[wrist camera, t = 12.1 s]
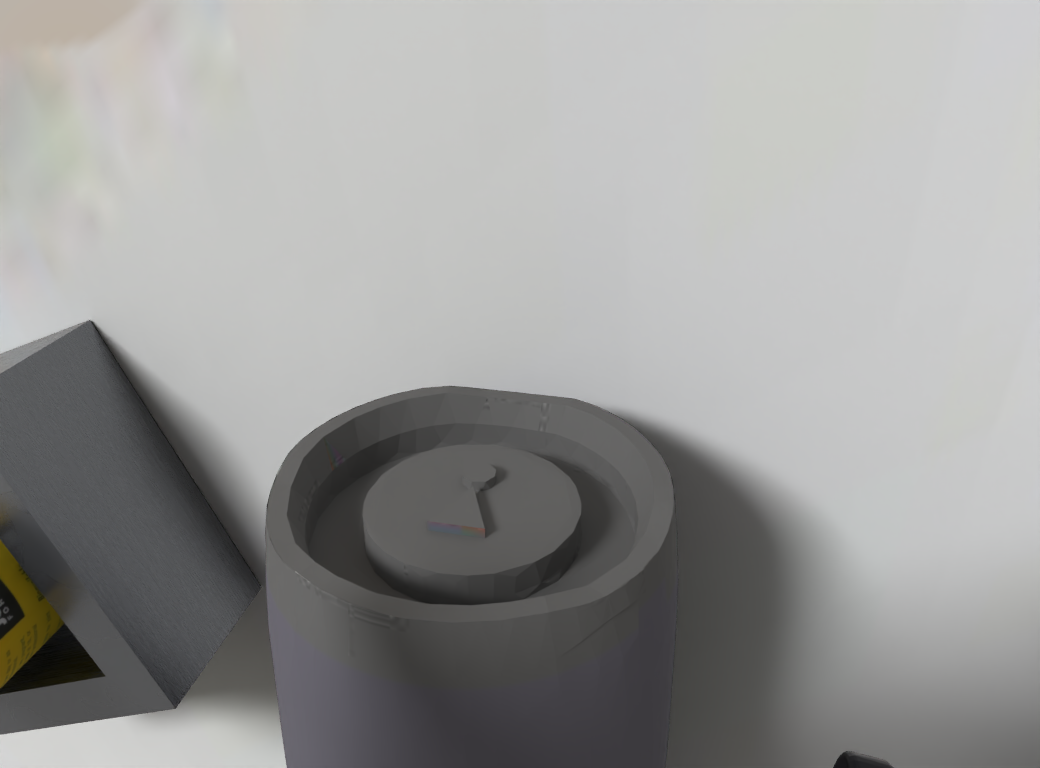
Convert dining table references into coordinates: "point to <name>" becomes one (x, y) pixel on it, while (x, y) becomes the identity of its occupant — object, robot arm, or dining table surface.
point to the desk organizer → (106, 541)
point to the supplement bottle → (21, 617)
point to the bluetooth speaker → (473, 586)
